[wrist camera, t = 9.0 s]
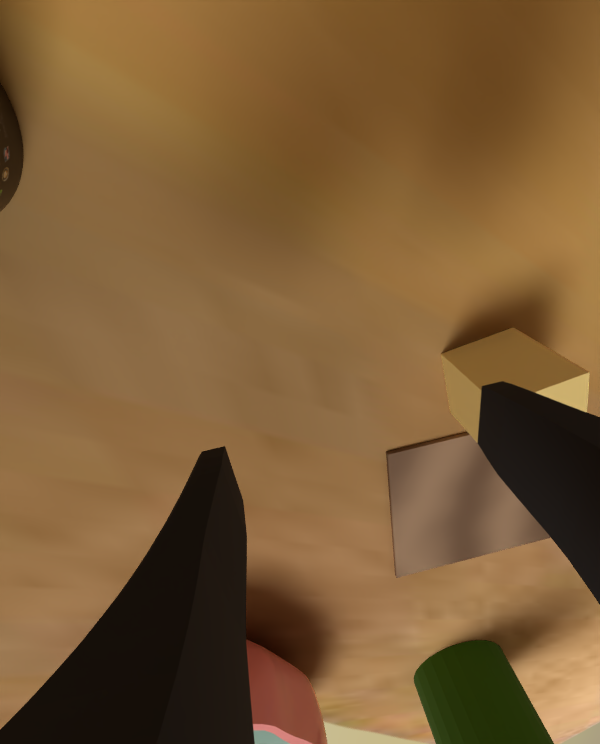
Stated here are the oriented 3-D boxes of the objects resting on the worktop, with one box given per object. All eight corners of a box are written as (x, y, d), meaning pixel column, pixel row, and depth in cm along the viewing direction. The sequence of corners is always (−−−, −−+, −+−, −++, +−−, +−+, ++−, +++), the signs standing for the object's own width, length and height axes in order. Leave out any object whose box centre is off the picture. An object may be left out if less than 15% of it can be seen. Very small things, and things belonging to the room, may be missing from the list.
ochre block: (501, 320, 22) (589, 372, 16) (505, 379, 24) (584, 442, 18) (432, 345, 22) (497, 405, 16) (442, 402, 24) (503, 472, 18)
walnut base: (564, 397, 25) (579, 408, 24) (538, 524, 31) (549, 537, 30) (380, 441, 24) (387, 454, 23) (390, 563, 30) (396, 577, 29)
